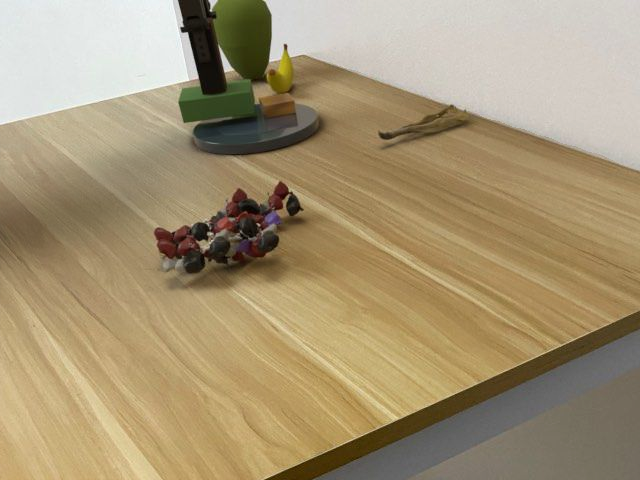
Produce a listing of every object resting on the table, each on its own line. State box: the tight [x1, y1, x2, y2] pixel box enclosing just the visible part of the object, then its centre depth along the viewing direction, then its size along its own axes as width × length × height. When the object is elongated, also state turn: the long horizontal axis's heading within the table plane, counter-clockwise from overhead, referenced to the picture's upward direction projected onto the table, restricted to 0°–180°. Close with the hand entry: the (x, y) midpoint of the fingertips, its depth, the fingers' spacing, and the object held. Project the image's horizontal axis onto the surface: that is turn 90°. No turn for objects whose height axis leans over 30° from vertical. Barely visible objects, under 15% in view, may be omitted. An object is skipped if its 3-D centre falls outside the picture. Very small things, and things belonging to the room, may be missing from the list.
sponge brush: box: [177, 17, 256, 124], centre depth 100 cm, size 9×6×10 cm, turn 97°
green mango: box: [211, 0, 273, 81], centre depth 118 cm, size 9×8×12 cm
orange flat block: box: [258, 92, 296, 118], centre depth 104 cm, size 4×4×2 cm
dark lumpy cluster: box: [153, 180, 304, 274], centre depth 76 cm, size 15×14×5 cm
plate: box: [192, 102, 320, 155], centre depth 103 cm, size 16×16×1 cm
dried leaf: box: [377, 104, 470, 141], centre depth 97 cm, size 4×13×2 cm, turn 125°
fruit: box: [266, 43, 294, 94], centre depth 114 cm, size 10×2×5 cm, turn 174°
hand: (213, 85), depth 102 cm, fingers closed on sponge brush, 3 cm apart
